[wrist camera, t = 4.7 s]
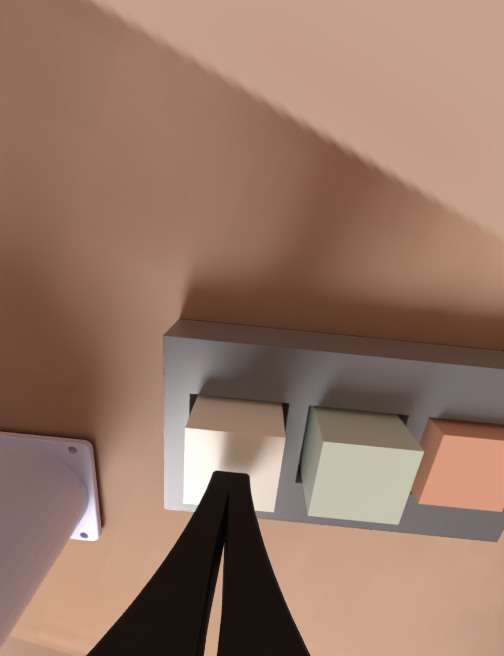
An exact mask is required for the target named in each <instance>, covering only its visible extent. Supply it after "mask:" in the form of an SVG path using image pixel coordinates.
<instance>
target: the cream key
mask: <svg viewBox="0 0 504 656" xmlns="http://www.w3.org/2000/svg"><path fill="white" fill-rule="evenodd" d="M285 439H286V436H285V427H284V419H283V410H282V403H281V402H271V401H261V400H251V399H241V398H231V397H221V396H211V395H201V394H198V396H197V398H196V401H195V404H194V406H193V409H192V411H191V414H190V416H189V419H188V421H187V424H186V427H185V451H184V497H183V503H185V504H195V505H199V503H200V501H201V499H202V497H203V495H204V493H205V491H206V489H207V486H208V484H209V482H210V479H211V476H212V473H213V472H214V471H216V470H217V471H227V472H237V473H247V474H248V475H249V476H250V487H251V494H252V499H253V504H254V509H255V511H265V512H274V508H275V502H276V496H277V489H278V483H279V477H280V470H281V464H282V458H283V452H284V445H285Z"/></svg>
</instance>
